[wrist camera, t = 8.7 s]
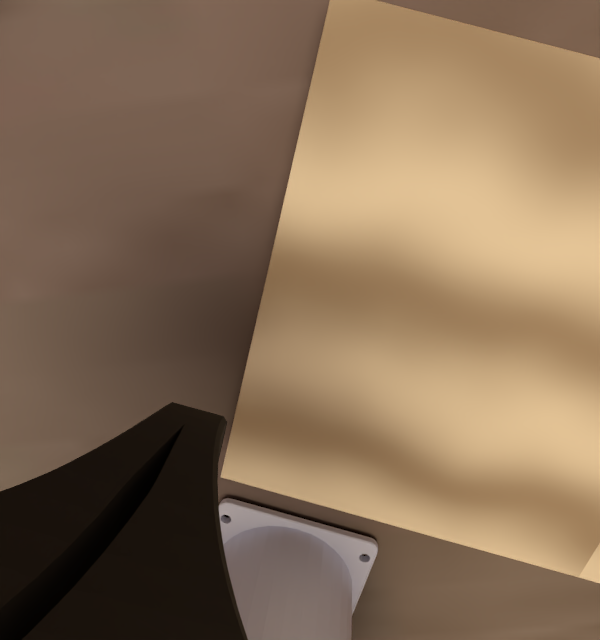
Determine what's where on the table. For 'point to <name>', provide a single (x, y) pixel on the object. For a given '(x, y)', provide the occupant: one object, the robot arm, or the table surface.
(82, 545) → the robot arm
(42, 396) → the table surface
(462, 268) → the deck
